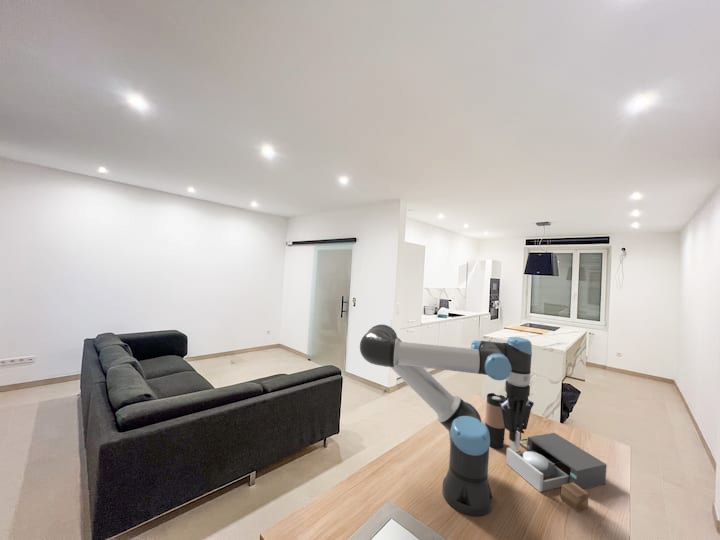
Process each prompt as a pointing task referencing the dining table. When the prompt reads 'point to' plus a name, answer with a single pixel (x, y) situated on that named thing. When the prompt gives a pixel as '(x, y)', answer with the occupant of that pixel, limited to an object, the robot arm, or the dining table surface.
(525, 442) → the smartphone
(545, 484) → the light grey drawer
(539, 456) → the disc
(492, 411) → the travel mug
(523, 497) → the dining table surface
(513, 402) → the robot arm
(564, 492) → the walnut block
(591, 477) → the box
